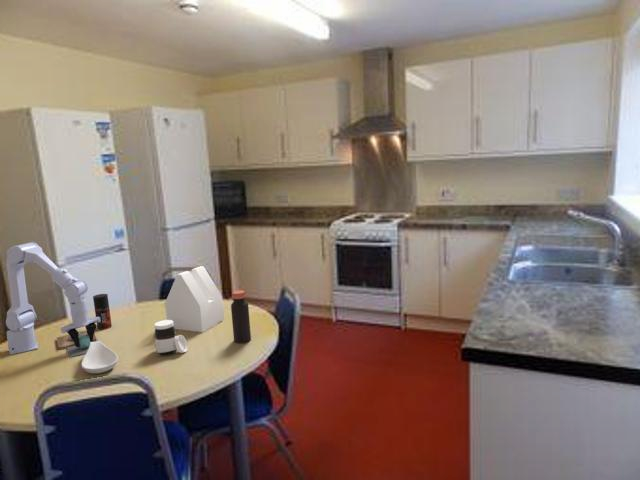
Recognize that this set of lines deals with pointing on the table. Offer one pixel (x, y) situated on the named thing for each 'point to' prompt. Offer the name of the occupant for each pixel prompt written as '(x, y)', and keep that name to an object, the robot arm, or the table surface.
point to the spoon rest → (98, 358)
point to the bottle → (240, 317)
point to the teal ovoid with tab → (84, 341)
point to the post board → (69, 340)
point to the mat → (76, 351)
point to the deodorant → (102, 311)
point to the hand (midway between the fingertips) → (84, 344)
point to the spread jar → (168, 339)
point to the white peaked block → (194, 301)
